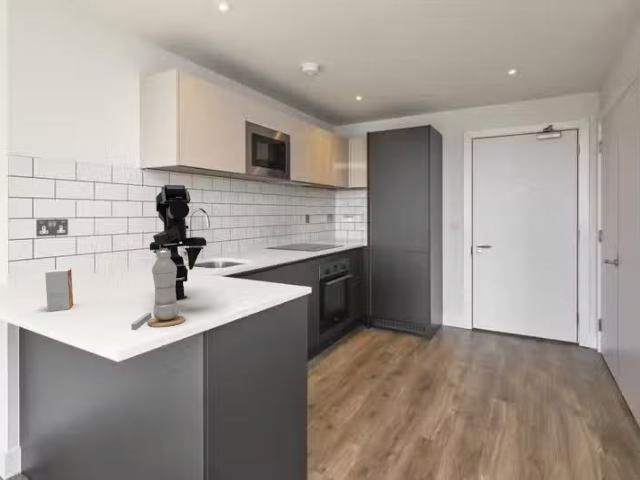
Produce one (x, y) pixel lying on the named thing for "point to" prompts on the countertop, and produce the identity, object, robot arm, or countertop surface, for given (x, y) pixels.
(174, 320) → the coaster
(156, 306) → the plastic bottle
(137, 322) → the sill
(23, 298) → the countertop surface
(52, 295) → the small box
